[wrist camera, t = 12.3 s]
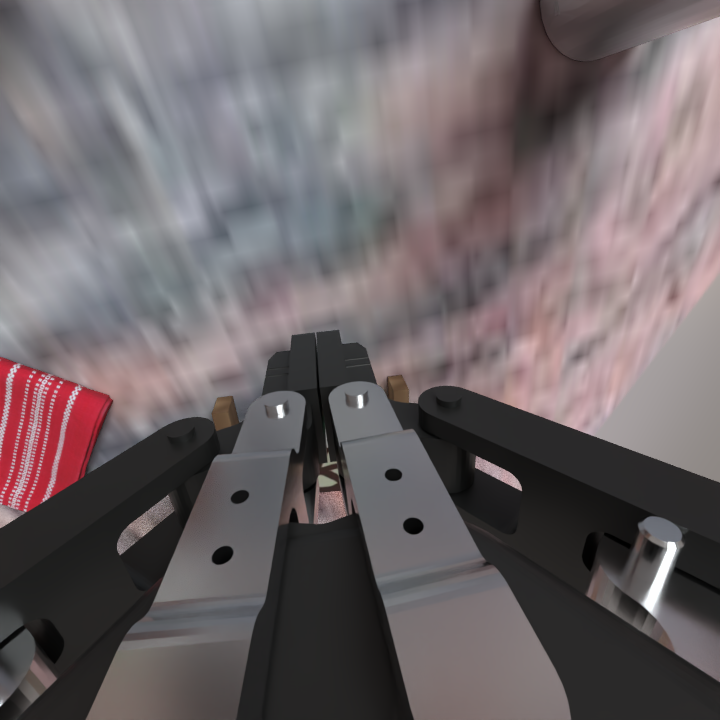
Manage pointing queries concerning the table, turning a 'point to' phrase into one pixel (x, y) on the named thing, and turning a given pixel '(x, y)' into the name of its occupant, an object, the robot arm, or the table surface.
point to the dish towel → (44, 433)
